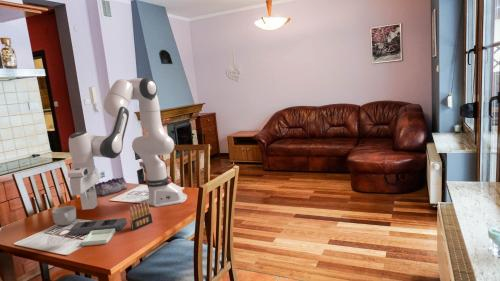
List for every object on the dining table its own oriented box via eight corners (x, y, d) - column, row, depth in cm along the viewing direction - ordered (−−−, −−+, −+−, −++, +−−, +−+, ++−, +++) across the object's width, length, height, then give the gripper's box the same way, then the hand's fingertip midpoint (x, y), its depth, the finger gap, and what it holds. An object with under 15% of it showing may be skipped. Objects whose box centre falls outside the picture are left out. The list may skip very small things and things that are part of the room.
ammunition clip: (133, 230, 160) (129, 207, 158) (131, 230, 161) (127, 206, 159) (152, 222, 168) (149, 199, 166) (150, 221, 169) (147, 199, 167)
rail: (126, 223, 169) (126, 217, 169) (121, 230, 161) (120, 224, 161) (78, 227, 168) (77, 222, 168) (71, 235, 161) (70, 229, 160)
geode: (122, 186, 232) (121, 172, 230) (130, 191, 224) (129, 177, 222) (92, 193, 218) (90, 179, 216) (99, 199, 210) (98, 185, 208)
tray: (115, 232, 160) (114, 228, 160) (106, 243, 149) (106, 239, 149) (92, 234, 160) (91, 230, 159) (81, 246, 149) (81, 242, 148)
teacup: (56, 221, 178) (53, 207, 177) (78, 217, 182) (76, 203, 181) (52, 232, 166) (49, 217, 164) (77, 226, 170) (74, 212, 168)
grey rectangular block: (98, 204, 156) (95, 186, 154) (93, 208, 151) (90, 190, 150) (87, 205, 156) (84, 187, 154) (82, 209, 151) (79, 191, 149)
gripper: (87, 162, 160) (91, 190, 163) (65, 175, 140) (71, 206, 143) (100, 161, 160) (104, 189, 163) (80, 173, 140) (85, 205, 143)
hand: (88, 197), depth 153 cm, fingers closed on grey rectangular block, 5 cm apart
